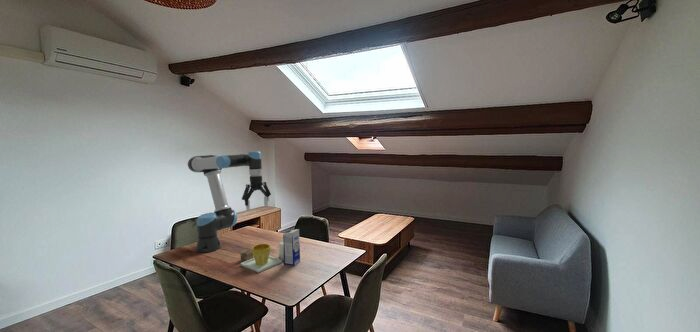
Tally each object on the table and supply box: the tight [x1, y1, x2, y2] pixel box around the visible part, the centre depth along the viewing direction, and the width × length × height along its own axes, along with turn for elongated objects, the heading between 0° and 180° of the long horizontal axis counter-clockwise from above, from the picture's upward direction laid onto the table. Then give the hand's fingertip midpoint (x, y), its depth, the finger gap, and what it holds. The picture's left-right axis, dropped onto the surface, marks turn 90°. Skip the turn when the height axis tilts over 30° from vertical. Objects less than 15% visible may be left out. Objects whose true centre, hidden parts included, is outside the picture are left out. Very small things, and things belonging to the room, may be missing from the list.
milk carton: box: [282, 228, 301, 267], centre depth 169 cm, size 7×7×20 cm
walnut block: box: [240, 249, 254, 262], centre depth 177 cm, size 5×5×5 cm
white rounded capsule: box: [277, 241, 284, 261], centre depth 178 cm, size 7×7×9 cm
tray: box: [240, 255, 283, 274], centre depth 170 cm, size 17×17×2 cm
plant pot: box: [251, 243, 271, 265], centre depth 169 cm, size 10×10×10 cm
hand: (257, 208), depth 186 cm, fingers open, 13 cm apart
